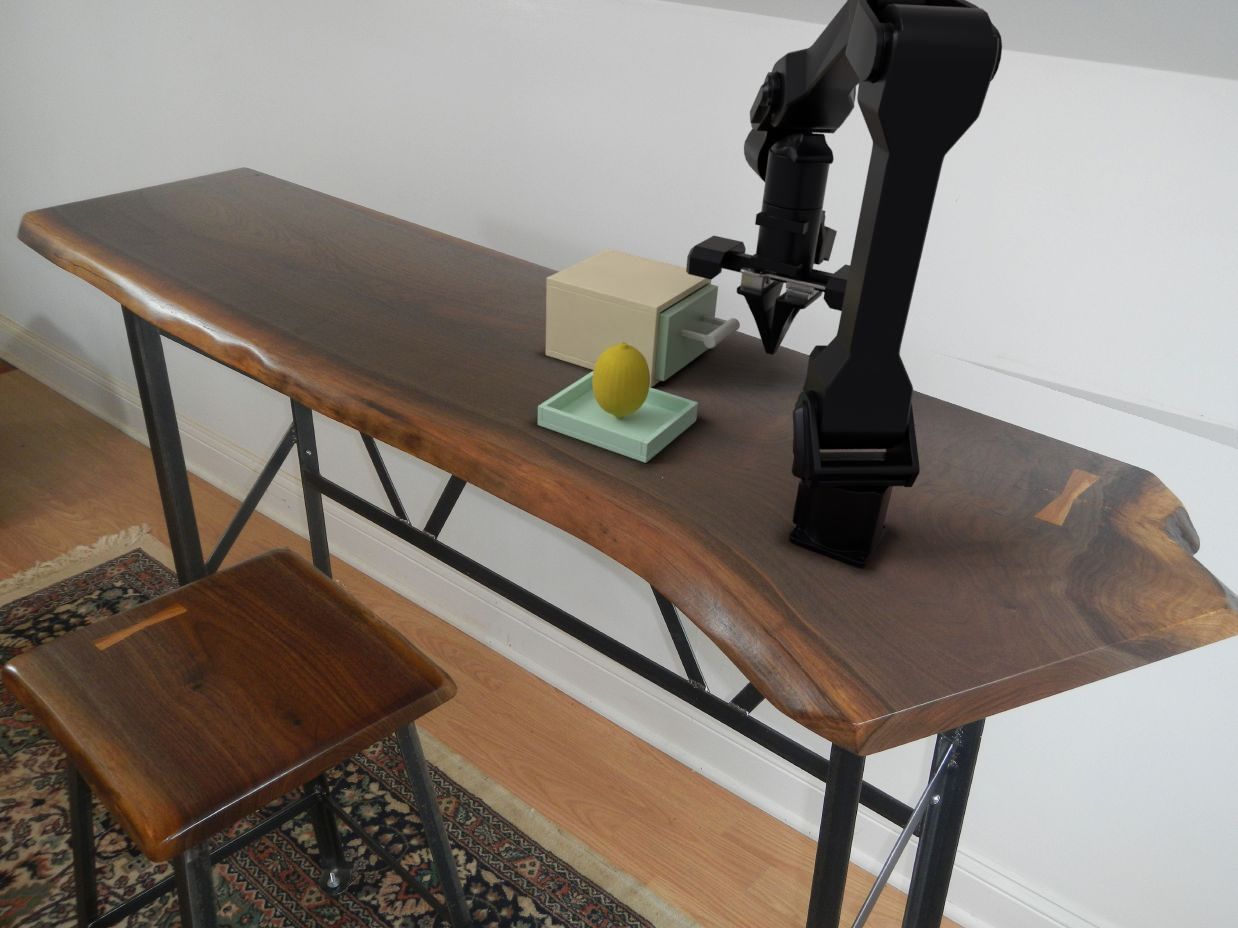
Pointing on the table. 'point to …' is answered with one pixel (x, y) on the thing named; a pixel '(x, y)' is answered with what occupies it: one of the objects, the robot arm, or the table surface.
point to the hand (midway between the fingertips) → (771, 353)
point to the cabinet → (612, 306)
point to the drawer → (689, 331)
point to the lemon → (621, 380)
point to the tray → (618, 420)
